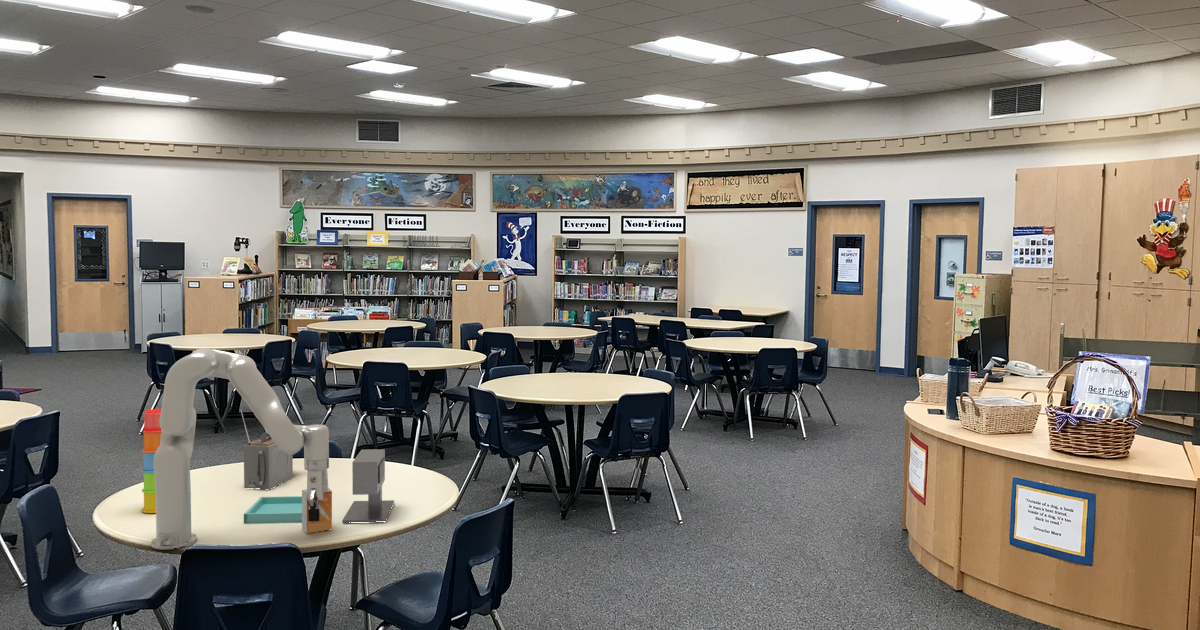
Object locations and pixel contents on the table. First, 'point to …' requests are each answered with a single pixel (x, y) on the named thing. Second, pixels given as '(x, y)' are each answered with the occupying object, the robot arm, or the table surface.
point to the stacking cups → (150, 457)
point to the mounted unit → (369, 488)
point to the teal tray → (275, 510)
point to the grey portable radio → (265, 463)
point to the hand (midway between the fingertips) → (317, 516)
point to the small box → (324, 513)
